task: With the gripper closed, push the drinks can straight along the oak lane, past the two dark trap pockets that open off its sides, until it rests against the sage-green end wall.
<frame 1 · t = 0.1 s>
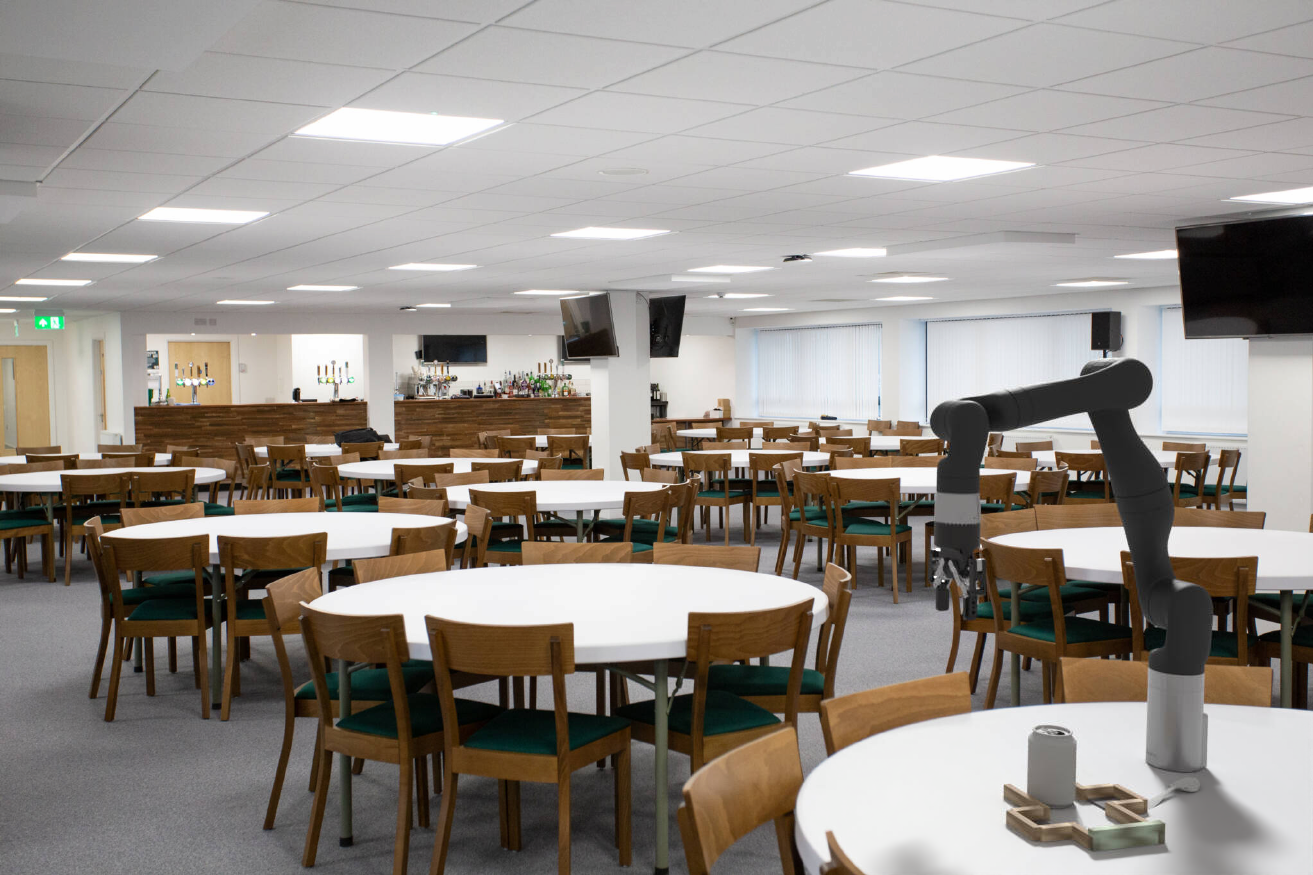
hand: (955, 615, 188), 29 cm above the table, tool pointing down, fingers open, 8 cm apart
spoon: (1165, 801, 185), on the table
can: (1050, 802, 182), on the table
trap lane: (1079, 818, 175), on the table
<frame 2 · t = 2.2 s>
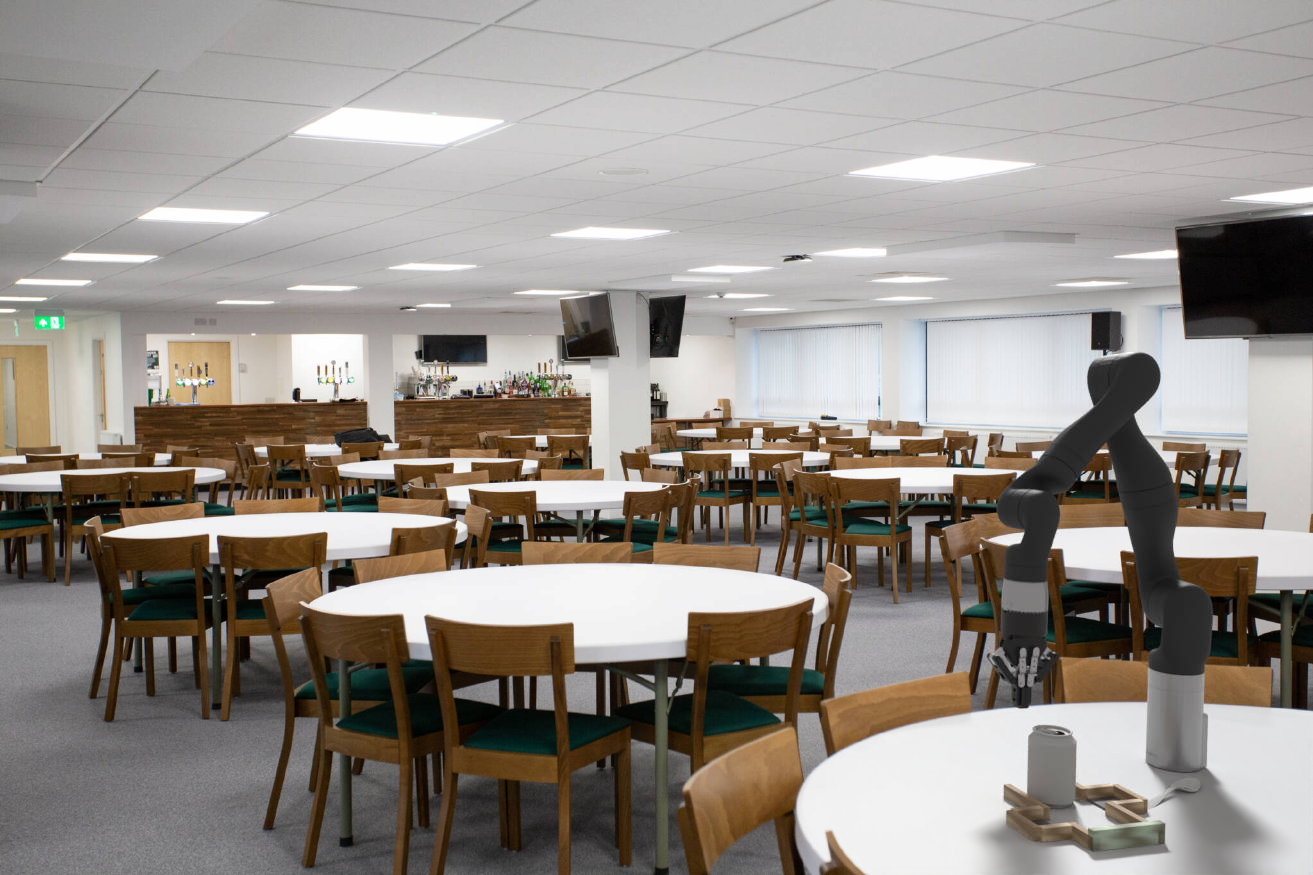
hand: (1021, 707, 190), 13 cm above the table, tool pointing down, fingers closed
nothing on the table moved.
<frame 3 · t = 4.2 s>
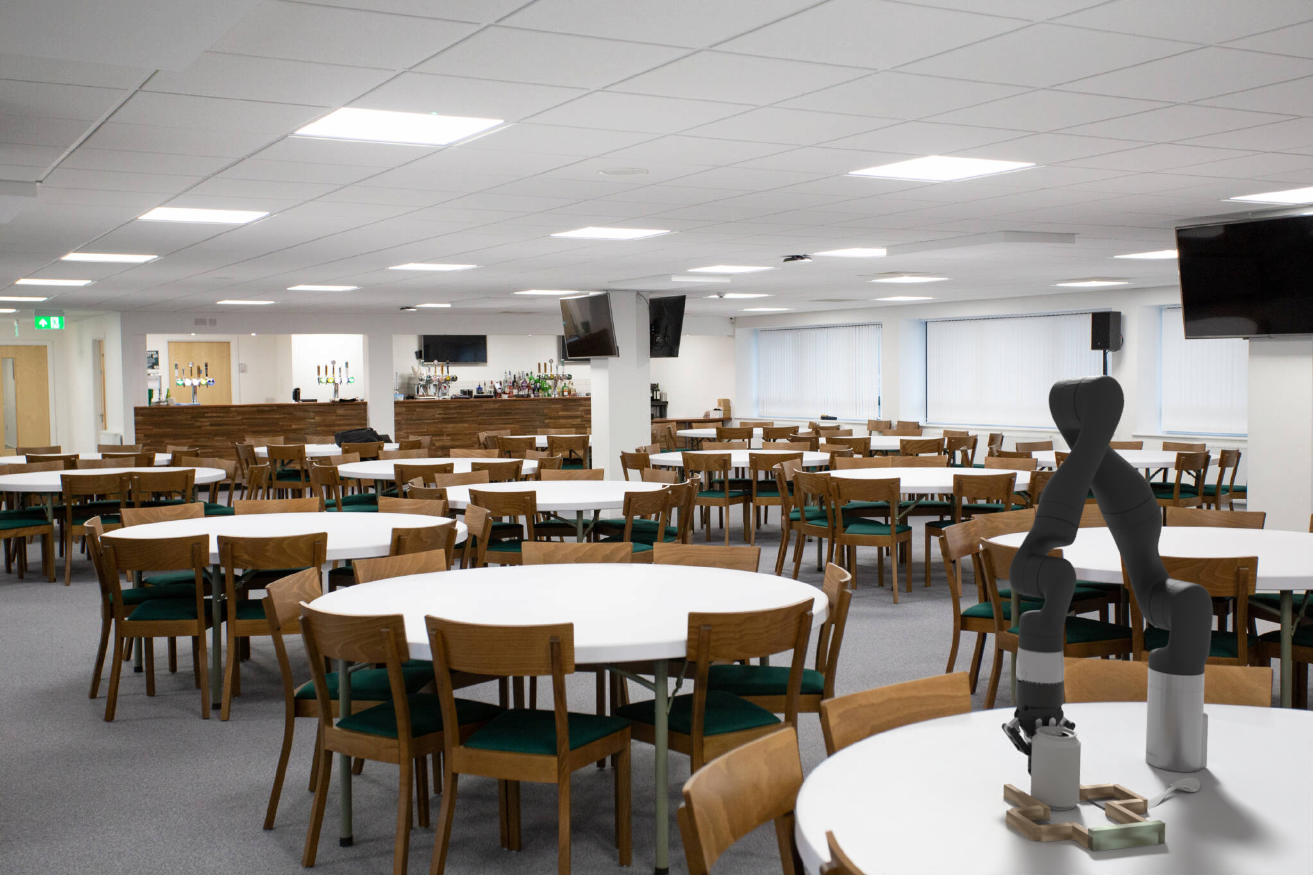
hand: (1037, 778, 186), 3 cm above the table, tool pointing down, fingers closed
can: (1054, 804, 181), on the table, touching gripper
everything else where it was.
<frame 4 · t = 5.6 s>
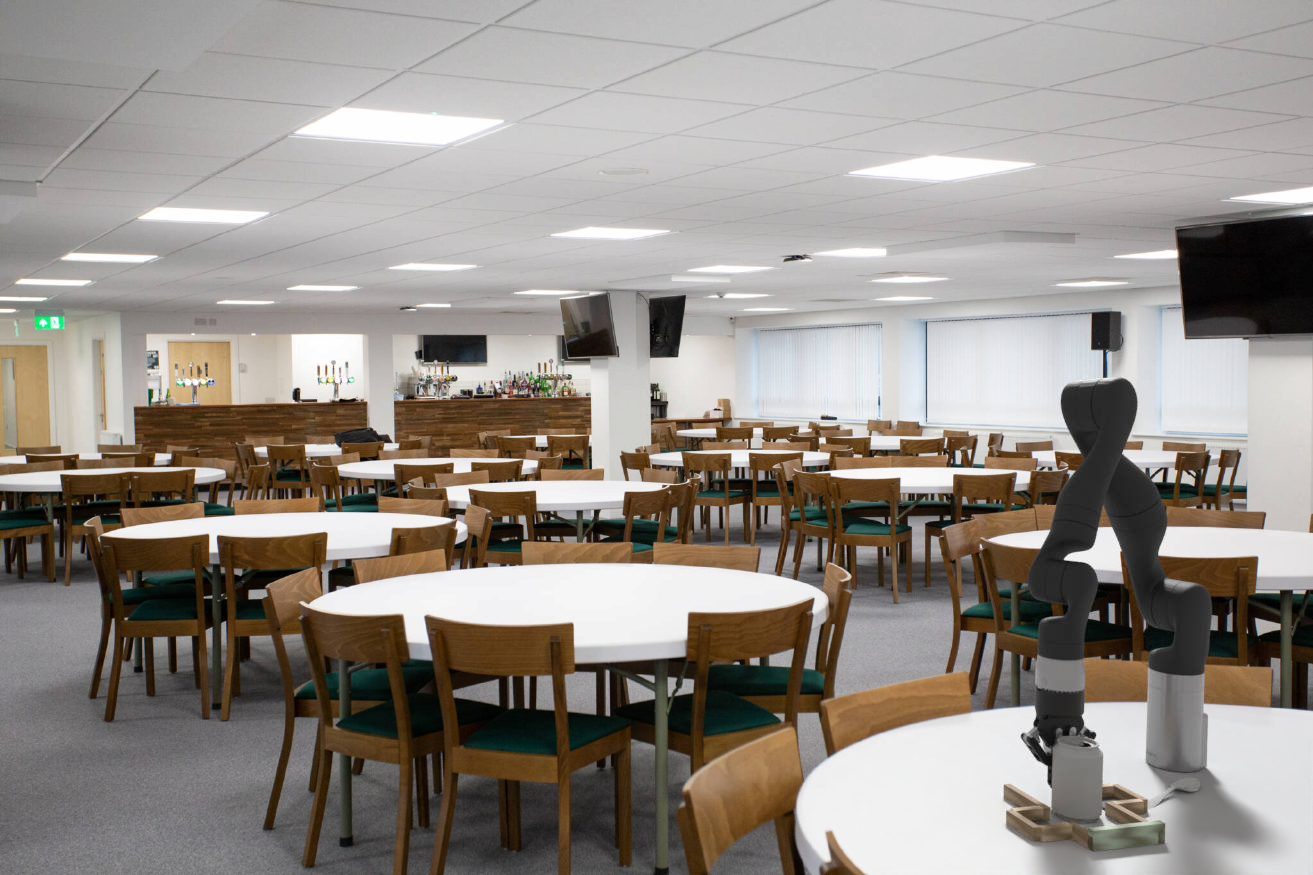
hand: (1057, 789, 181), 3 cm above the table, tool pointing down, fingers closed
can: (1076, 816, 176), on the table, touching gripper
everything else where it was.
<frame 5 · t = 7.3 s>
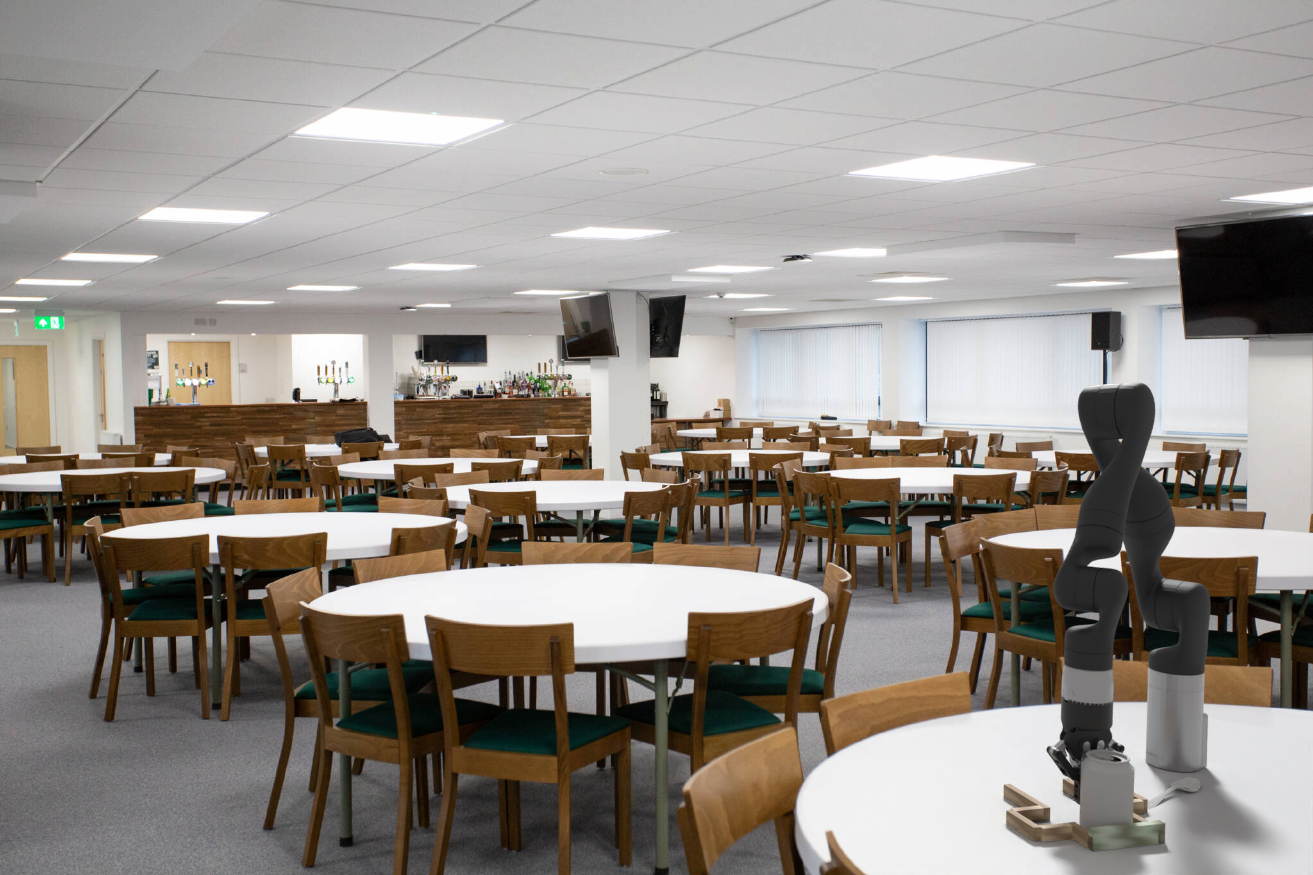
hand: (1083, 804, 174), 3 cm above the table, tool pointing down, fingers closed
can: (1105, 833, 169), on the table, touching gripper
everything else where it was.
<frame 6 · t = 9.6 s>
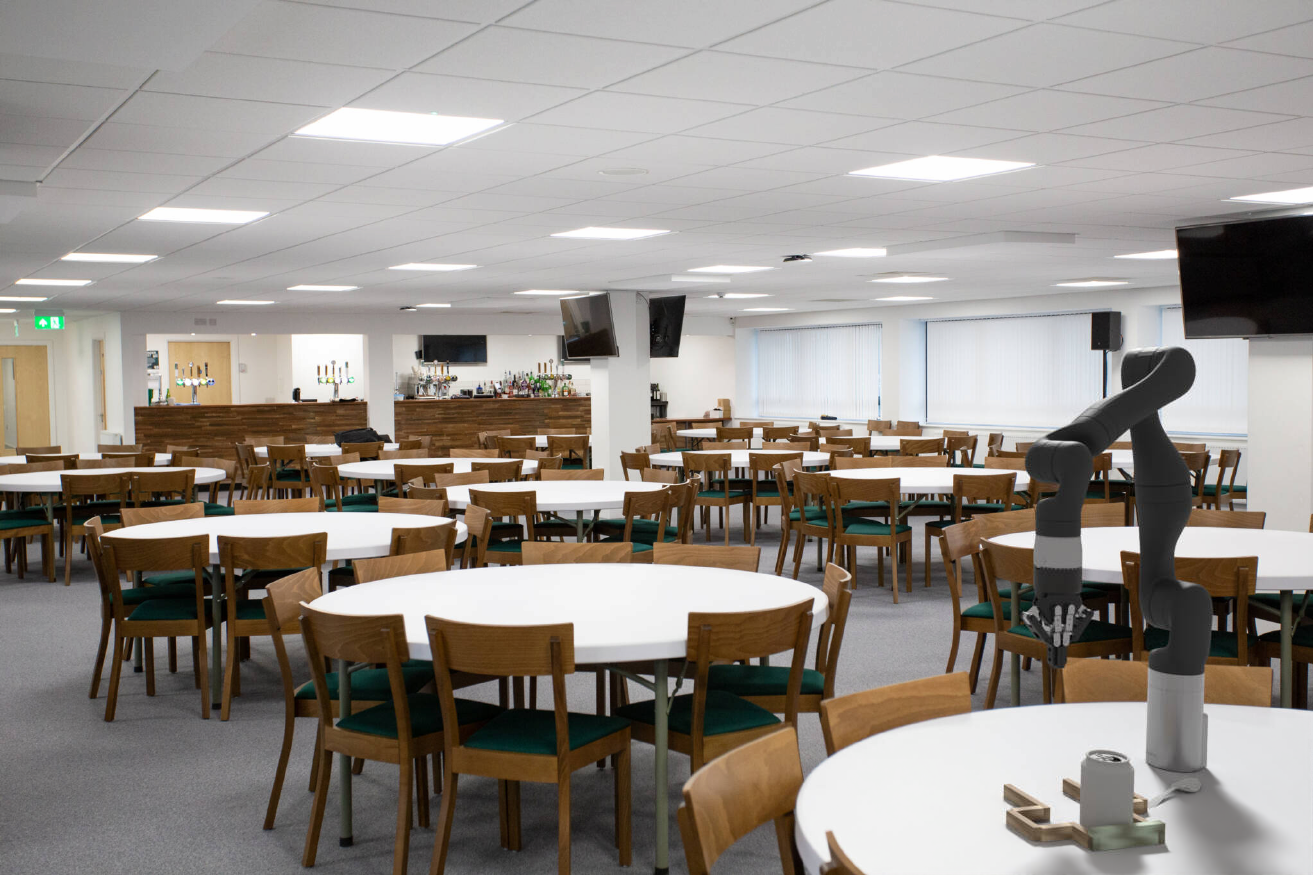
hand: (1056, 667, 183), 22 cm above the table, tool pointing down, fingers closed
can: (1105, 834, 169), on the table
everything else where it was.
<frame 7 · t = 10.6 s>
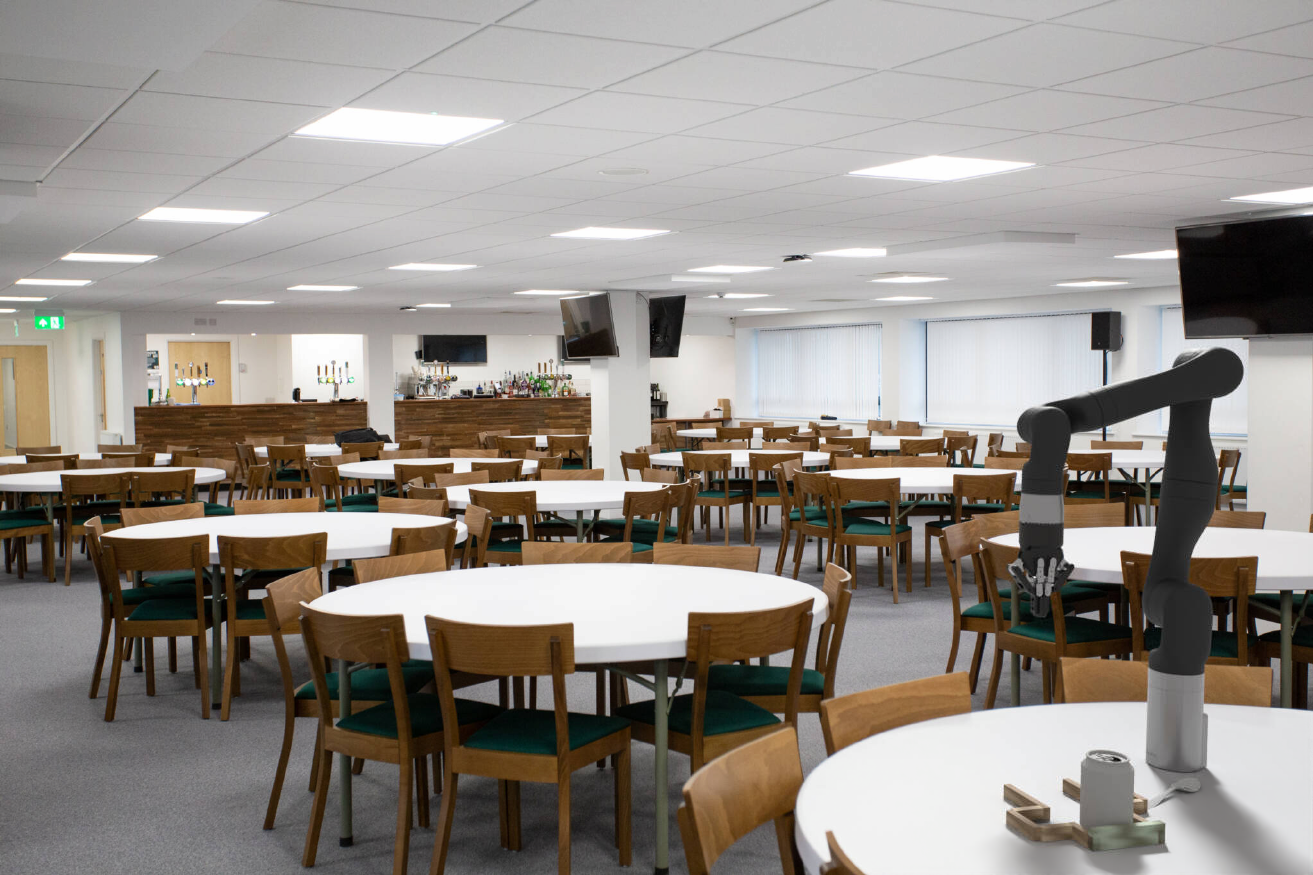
hand: (1039, 616, 199), 27 cm above the table, tool pointing down, fingers closed
nothing on the table moved.
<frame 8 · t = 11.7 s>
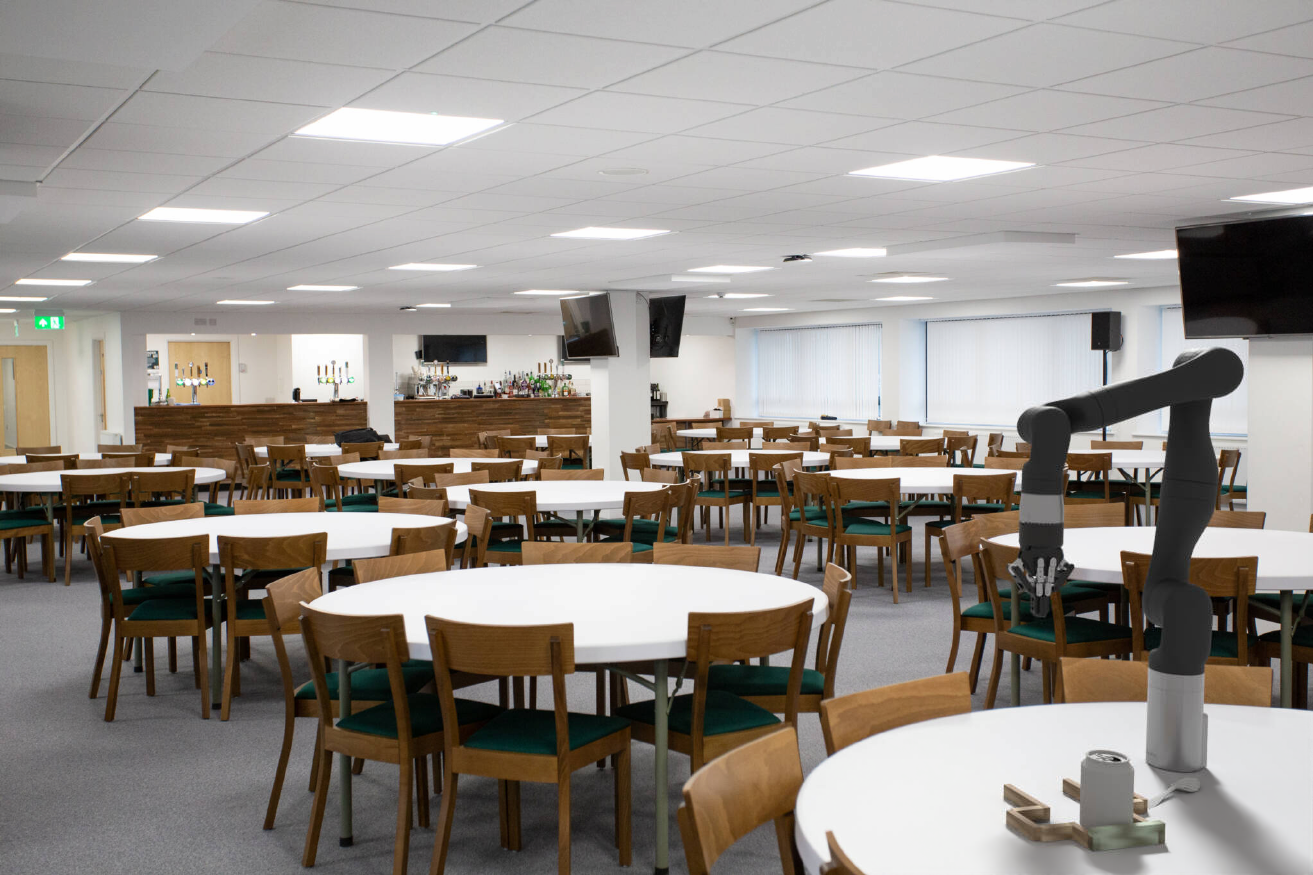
hand: (1039, 616, 199), 27 cm above the table, tool pointing down, fingers closed
nothing on the table moved.
at the end: can inside the target area (1.1 cm from its centre), on the table; can tilted 0° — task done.
